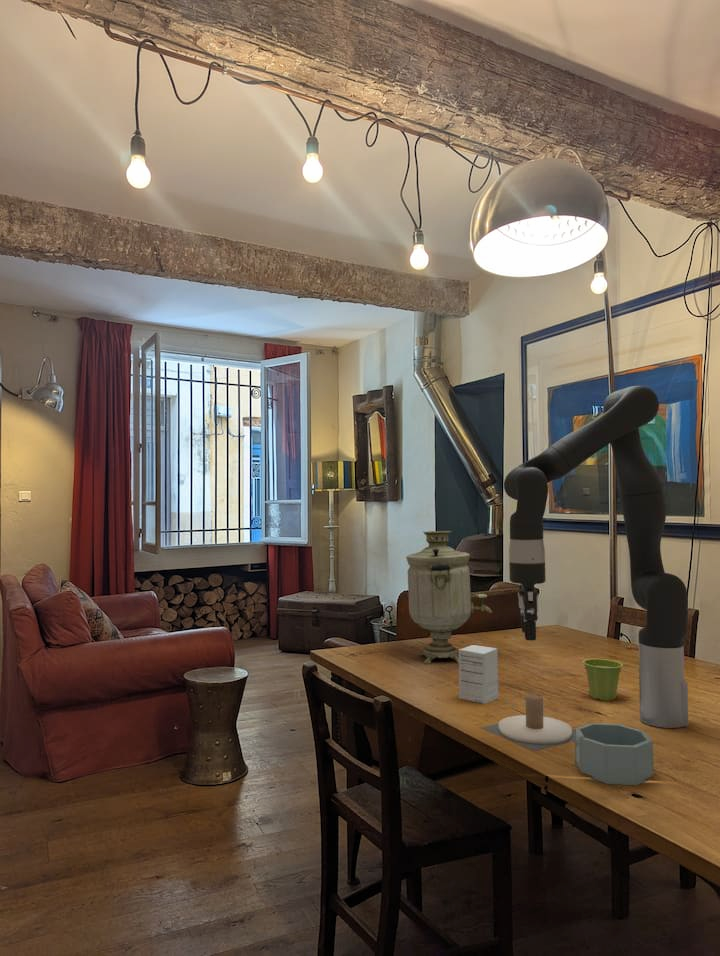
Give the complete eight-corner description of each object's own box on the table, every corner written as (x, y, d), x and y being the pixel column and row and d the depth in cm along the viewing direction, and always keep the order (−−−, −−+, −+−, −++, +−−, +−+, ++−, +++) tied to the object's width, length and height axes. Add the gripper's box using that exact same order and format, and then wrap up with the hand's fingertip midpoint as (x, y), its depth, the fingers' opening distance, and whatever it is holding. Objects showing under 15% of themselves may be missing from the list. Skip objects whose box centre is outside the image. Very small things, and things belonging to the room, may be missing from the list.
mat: (535, 717, 154) (535, 715, 154) (591, 738, 140) (591, 736, 140) (480, 729, 146) (480, 727, 146) (534, 753, 132) (533, 750, 132)
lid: (565, 722, 150) (565, 689, 150) (577, 746, 135) (577, 709, 135) (496, 719, 152) (496, 686, 152) (500, 742, 137) (500, 706, 137)
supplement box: (473, 693, 174) (472, 644, 174) (499, 699, 169) (498, 648, 169) (458, 700, 168) (457, 649, 168) (484, 706, 163) (484, 653, 164)
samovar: (483, 674, 193) (482, 534, 194) (395, 667, 201) (394, 533, 203) (497, 652, 221) (495, 530, 223) (419, 647, 229) (418, 529, 231)
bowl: (640, 759, 129) (639, 724, 129) (659, 786, 116) (659, 748, 117) (571, 755, 131) (571, 721, 131) (583, 782, 118) (583, 745, 119)
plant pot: (610, 691, 175) (609, 657, 176) (630, 702, 166) (630, 666, 166) (576, 693, 174) (576, 659, 174) (595, 704, 165) (595, 668, 165)
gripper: (548, 563, 138) (550, 643, 138) (541, 557, 152) (543, 630, 152) (511, 563, 139) (512, 642, 139) (507, 557, 153) (509, 629, 153)
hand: (528, 636), depth 145 cm, fingers open, 8 cm apart
